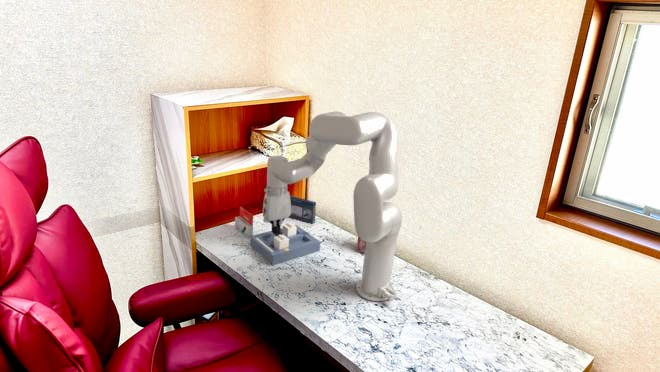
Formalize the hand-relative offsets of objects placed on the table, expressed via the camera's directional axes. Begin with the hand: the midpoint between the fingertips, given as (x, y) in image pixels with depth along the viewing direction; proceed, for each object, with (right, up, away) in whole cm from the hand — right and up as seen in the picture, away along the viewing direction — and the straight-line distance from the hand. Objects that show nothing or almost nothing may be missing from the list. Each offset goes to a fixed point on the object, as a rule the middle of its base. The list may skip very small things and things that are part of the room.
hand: (275, 233), depth 166 cm
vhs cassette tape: (+5, +4, +27) cm, 28 cm away
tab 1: (+2, -6, -5) cm, 8 cm away
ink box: (-15, -1, +11) cm, 18 cm away
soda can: (+35, -7, +4) cm, 36 cm away
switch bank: (+3, -6, +1) cm, 7 cm away
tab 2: (+5, -2, +5) cm, 7 cm away
